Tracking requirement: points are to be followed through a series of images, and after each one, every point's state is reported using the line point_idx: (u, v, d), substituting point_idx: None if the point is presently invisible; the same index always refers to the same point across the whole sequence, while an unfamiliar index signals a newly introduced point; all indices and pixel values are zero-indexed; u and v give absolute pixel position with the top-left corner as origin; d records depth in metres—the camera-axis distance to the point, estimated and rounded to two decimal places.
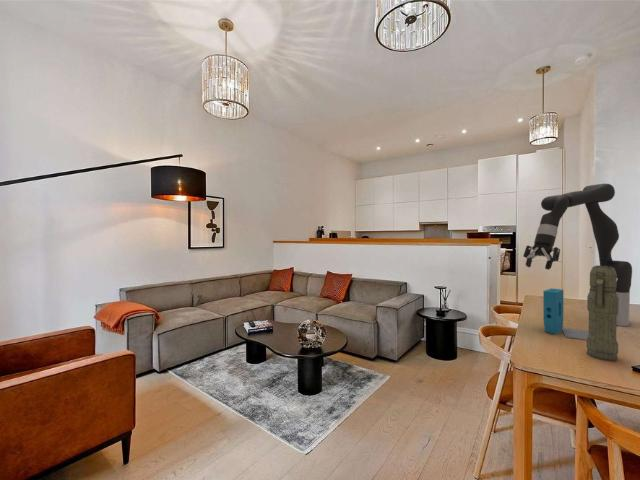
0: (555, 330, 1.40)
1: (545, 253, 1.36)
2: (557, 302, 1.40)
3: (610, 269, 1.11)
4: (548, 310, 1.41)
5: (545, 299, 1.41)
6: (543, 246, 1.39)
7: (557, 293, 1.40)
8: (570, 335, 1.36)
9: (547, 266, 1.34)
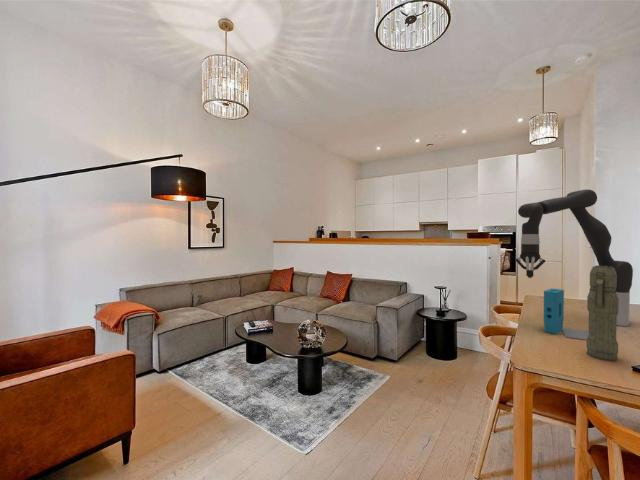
0: (555, 330, 1.40)
1: (532, 263, 1.47)
2: (557, 303, 1.40)
3: (610, 269, 1.11)
4: (548, 310, 1.41)
5: (545, 299, 1.41)
6: (531, 254, 1.47)
7: (557, 293, 1.40)
8: (570, 335, 1.36)
9: (531, 275, 1.48)
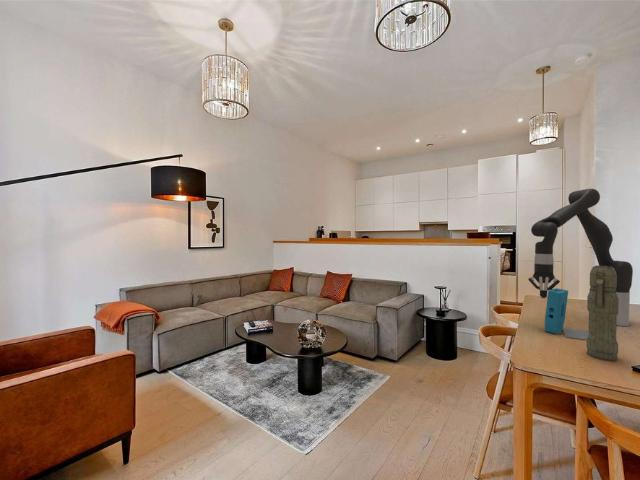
0: (555, 330, 1.40)
1: (546, 283, 1.44)
2: (561, 303, 1.39)
3: (610, 269, 1.11)
4: (550, 310, 1.41)
5: (549, 299, 1.40)
6: (545, 275, 1.44)
7: (562, 294, 1.38)
8: (570, 335, 1.36)
9: (545, 296, 1.45)
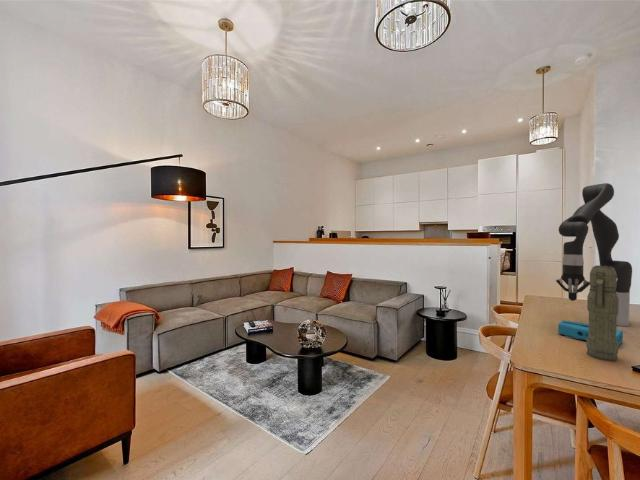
0: (562, 333, 1.37)
1: (576, 285, 1.38)
2: None
3: (610, 269, 1.11)
4: None
5: None
6: (575, 276, 1.38)
7: None
8: None
9: (574, 298, 1.39)
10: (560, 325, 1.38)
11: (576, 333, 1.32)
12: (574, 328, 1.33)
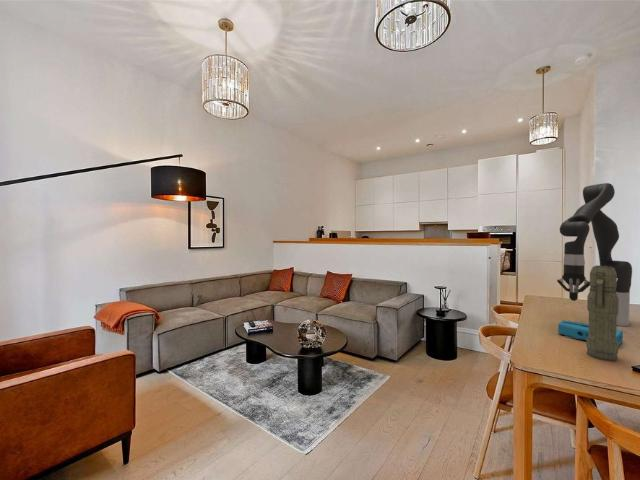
0: (562, 333, 1.37)
1: (577, 285, 1.38)
2: None
3: (610, 269, 1.11)
4: None
5: None
6: (576, 276, 1.38)
7: None
8: None
9: (575, 298, 1.39)
10: (560, 325, 1.38)
11: (576, 333, 1.32)
12: (574, 328, 1.33)
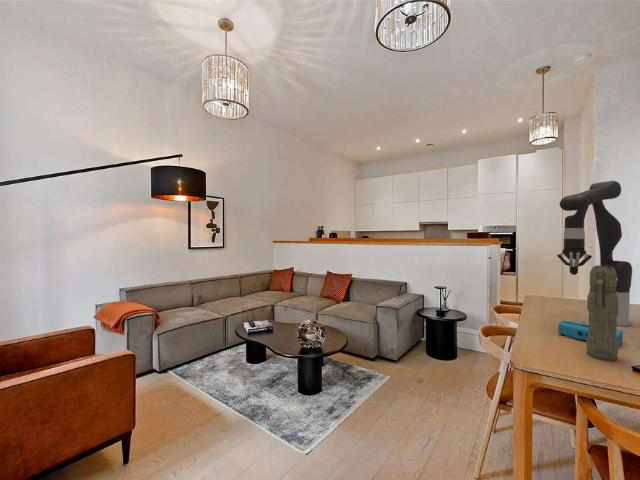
0: (562, 333, 1.37)
1: (577, 259, 1.37)
2: None
3: (610, 269, 1.11)
4: None
5: None
6: (576, 250, 1.38)
7: None
8: None
9: (576, 272, 1.38)
10: (560, 325, 1.38)
11: (576, 333, 1.32)
12: (574, 328, 1.33)
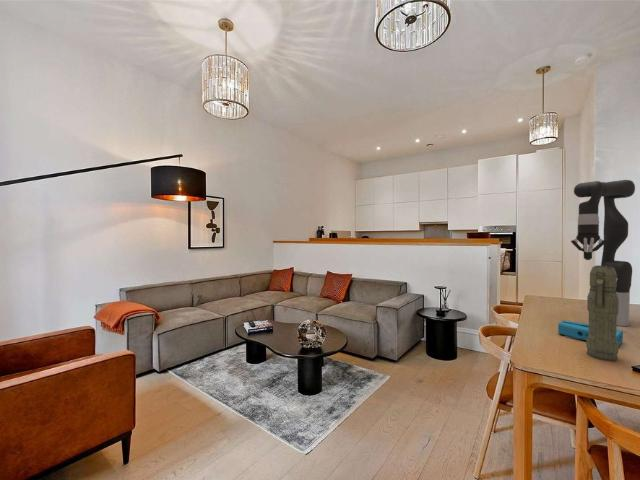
0: (562, 333, 1.37)
1: (591, 244, 1.40)
2: None
3: (610, 269, 1.11)
4: None
5: None
6: (590, 235, 1.40)
7: None
8: None
9: (590, 257, 1.41)
10: (560, 325, 1.38)
11: (576, 333, 1.32)
12: (574, 328, 1.33)
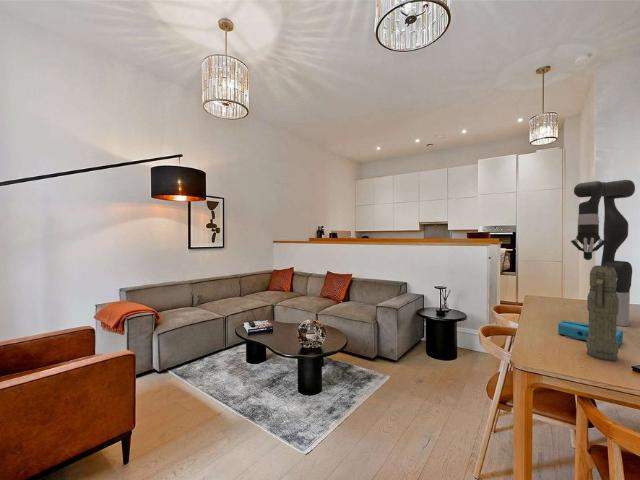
0: (562, 333, 1.37)
1: (591, 244, 1.40)
2: None
3: (610, 269, 1.11)
4: None
5: None
6: (590, 235, 1.40)
7: None
8: None
9: (590, 257, 1.41)
10: (560, 325, 1.38)
11: (576, 333, 1.32)
12: (574, 328, 1.33)
